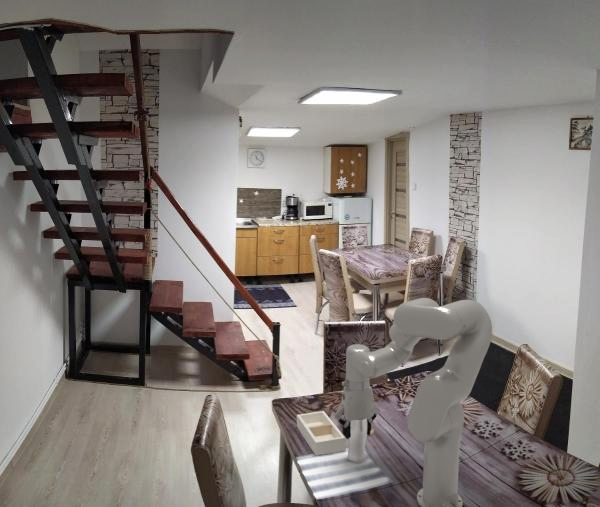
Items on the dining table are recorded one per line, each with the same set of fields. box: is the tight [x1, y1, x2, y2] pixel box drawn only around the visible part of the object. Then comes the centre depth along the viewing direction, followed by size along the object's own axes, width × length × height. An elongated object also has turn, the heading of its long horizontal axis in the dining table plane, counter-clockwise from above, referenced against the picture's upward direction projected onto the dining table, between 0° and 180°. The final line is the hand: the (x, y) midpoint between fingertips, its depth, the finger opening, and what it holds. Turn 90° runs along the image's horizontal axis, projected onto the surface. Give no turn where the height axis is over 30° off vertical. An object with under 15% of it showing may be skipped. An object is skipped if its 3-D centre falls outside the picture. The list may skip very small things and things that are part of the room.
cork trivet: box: [367, 424, 375, 437], centre depth 196 cm, size 10×10×1 cm
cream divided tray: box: [296, 410, 346, 456], centre depth 190 cm, size 21×10×5 cm, turn 18°
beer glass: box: [346, 418, 368, 464], centre depth 176 cm, size 7×7×15 cm
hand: (356, 434), depth 176 cm, fingers closed on beer glass, 6 cm apart
